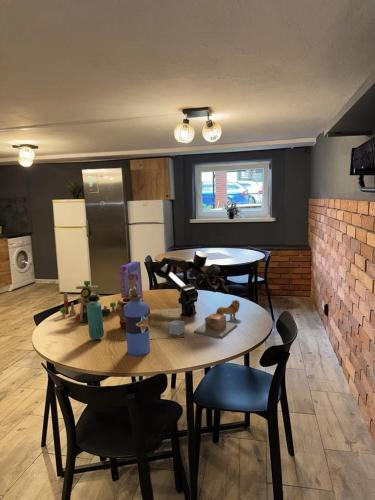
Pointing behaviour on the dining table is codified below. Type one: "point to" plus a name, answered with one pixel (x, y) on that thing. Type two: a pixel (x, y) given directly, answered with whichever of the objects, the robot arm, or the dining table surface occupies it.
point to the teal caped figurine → (95, 318)
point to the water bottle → (137, 326)
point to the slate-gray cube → (176, 327)
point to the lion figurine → (229, 309)
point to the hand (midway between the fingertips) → (221, 292)
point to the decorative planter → (120, 311)
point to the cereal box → (130, 279)
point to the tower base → (216, 333)
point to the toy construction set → (84, 303)
